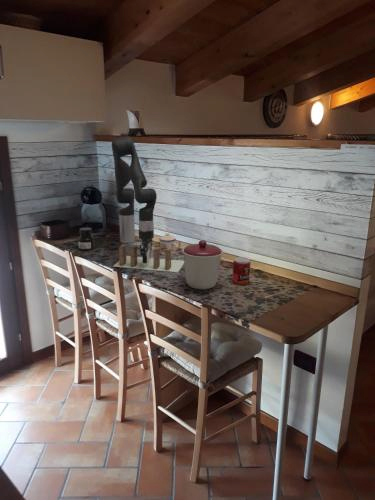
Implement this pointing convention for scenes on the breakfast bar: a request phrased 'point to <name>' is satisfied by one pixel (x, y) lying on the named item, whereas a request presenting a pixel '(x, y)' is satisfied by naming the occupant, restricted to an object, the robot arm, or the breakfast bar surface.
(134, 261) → the domino
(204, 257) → the canister
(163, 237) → the teacup with lid
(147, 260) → the domino
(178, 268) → the mat
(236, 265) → the canned food
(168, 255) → the domino
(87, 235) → the ink bottle
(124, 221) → the robot arm
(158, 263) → the domino
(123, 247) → the domino
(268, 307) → the breakfast bar surface
